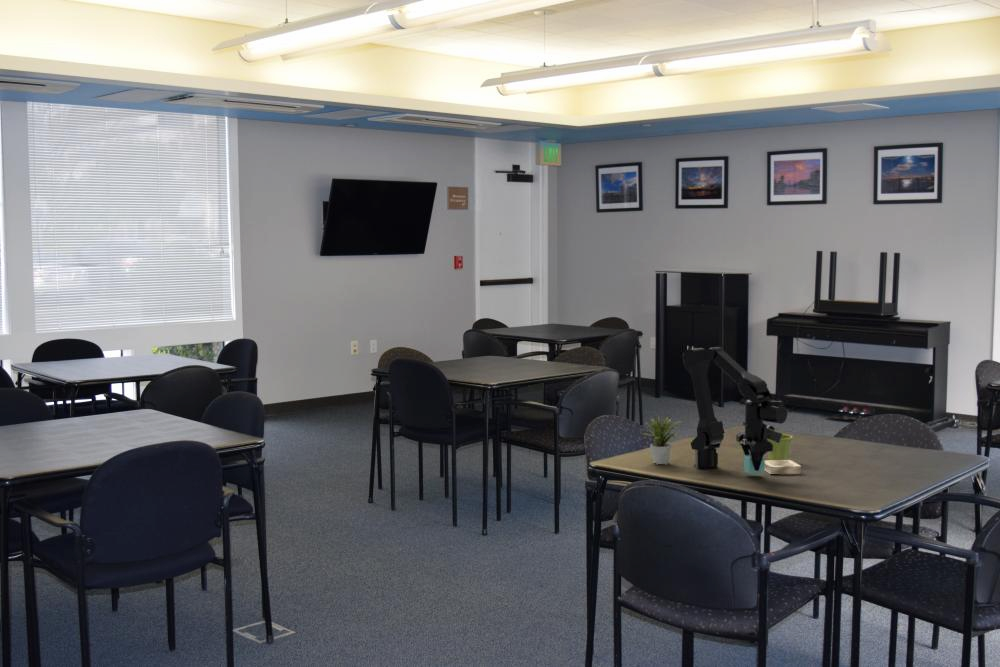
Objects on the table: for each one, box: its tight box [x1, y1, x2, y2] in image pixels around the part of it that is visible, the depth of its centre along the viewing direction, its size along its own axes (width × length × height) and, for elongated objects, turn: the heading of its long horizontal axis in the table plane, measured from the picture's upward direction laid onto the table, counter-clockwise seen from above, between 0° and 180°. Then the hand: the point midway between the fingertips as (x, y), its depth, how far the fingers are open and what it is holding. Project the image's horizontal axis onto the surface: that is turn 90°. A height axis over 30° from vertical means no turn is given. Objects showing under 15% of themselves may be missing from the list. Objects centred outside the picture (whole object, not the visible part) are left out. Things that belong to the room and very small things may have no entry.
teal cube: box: [743, 455, 765, 475], centre depth 316 cm, size 5×5×5 cm
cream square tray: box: [765, 459, 802, 475], centre depth 324 cm, size 10×10×3 cm
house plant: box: [642, 415, 683, 465], centre depth 338 cm, size 14×14×16 cm
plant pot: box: [767, 433, 793, 460], centre depth 338 cm, size 9×9×9 cm
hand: (754, 468), depth 317 cm, fingers closed on teal cube, 5 cm apart
